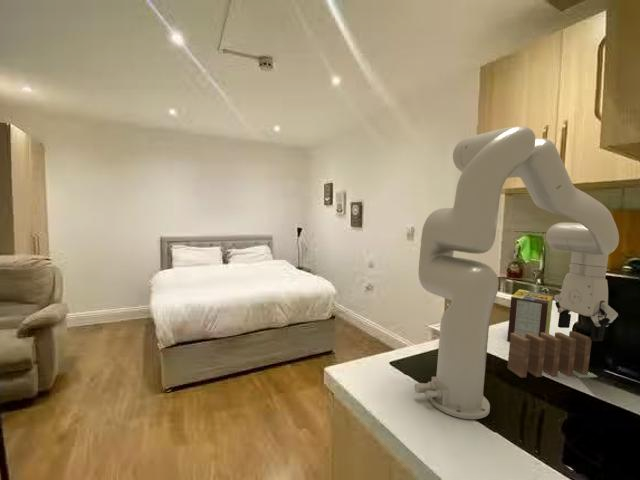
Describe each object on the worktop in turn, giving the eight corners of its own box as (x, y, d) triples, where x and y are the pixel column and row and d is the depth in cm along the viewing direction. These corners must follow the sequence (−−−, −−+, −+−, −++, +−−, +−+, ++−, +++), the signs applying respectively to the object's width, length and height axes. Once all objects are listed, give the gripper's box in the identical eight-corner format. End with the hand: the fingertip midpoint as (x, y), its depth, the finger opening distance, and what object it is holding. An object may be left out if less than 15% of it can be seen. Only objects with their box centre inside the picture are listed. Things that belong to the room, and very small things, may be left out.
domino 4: (567, 376, 87) (571, 339, 86) (551, 367, 92) (555, 332, 91) (572, 376, 87) (576, 339, 86) (556, 367, 92) (560, 332, 91)
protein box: (548, 337, 115) (553, 294, 113) (543, 351, 103) (549, 302, 102) (514, 329, 121) (518, 288, 120) (506, 341, 110) (510, 295, 108)
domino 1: (520, 377, 85) (524, 340, 84) (507, 368, 90) (510, 332, 89) (526, 377, 85) (530, 340, 84) (512, 368, 90) (516, 332, 89)
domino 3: (551, 376, 86) (555, 339, 85) (536, 367, 91) (540, 332, 90) (557, 376, 86) (561, 339, 85) (541, 367, 91) (545, 332, 90)
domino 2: (536, 377, 85) (540, 340, 85) (522, 368, 90) (525, 332, 90) (541, 377, 86) (546, 339, 85) (527, 367, 91) (531, 332, 90)
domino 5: (582, 374, 87) (586, 338, 86) (565, 365, 92) (569, 331, 91) (587, 374, 88) (591, 338, 87) (570, 365, 92) (574, 331, 92)
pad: (578, 377, 86) (578, 376, 86) (556, 365, 93) (556, 364, 93) (597, 377, 87) (597, 376, 87) (573, 364, 94) (573, 363, 94)
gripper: (548, 265, 95) (541, 322, 97) (607, 277, 78) (598, 346, 80) (570, 266, 96) (563, 323, 98) (634, 278, 79) (624, 347, 81)
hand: (579, 333), depth 89 cm, fingers open, 9 cm apart
